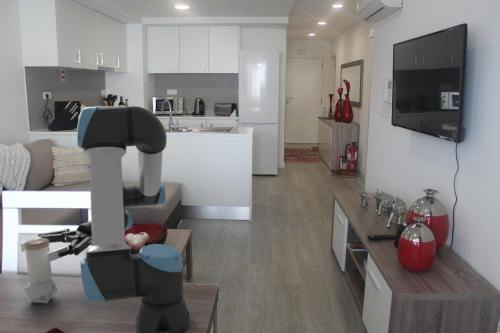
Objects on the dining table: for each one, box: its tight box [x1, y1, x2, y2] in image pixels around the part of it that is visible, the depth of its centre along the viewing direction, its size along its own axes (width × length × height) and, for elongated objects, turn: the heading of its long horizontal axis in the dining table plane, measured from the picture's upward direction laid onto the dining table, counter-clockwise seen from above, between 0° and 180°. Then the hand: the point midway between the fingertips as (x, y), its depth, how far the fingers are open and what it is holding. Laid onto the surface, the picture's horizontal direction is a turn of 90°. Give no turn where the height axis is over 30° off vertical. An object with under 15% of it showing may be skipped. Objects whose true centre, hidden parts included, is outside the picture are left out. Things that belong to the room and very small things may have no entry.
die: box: [23, 278, 58, 305], centre depth 132 cm, size 8×9×10 cm
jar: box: [24, 237, 53, 283], centre depth 130 cm, size 7×7×12 cm
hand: (34, 252), depth 129 cm, fingers open, 13 cm apart
